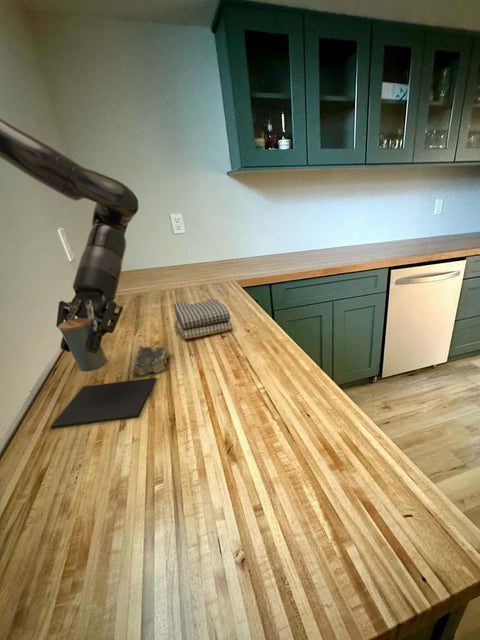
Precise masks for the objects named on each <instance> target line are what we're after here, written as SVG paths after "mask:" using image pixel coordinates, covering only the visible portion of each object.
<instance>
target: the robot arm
mask: <svg viewBox="0 0 480 640" xmlns="http://www.w3.org/2000/svg"><path fill="white" fill-rule="evenodd" d="M0 159H1V160H4V161H5V162H7V163H8V164H10V165H11V166H13V167H14V168H16V169H17V170H19V171H21V172H22V173H23V174H25V175H26V176H29V177H30V178H32V179H33V180H35V181H37V182H38V183H40V184H42V185H44V186H46V187H48V188H49V189H51V190H53V191H54V192H57V193H58V194H60V195H62V196H64V197H66V198H67V199H69V200H71V201H76V202H78V201H81V200H83V199H86V200H89V201H91V202H93V203H95V205H94V209H93V213H92V221H91V229H90V231H89V233H88V237H87V239H86V240H87V241H86V244H85V247H84V249H83V252H82V254H81V257H80V260H79V264H78V267H77V270H76V273H75V276H74V281H73V284H72V289H73V291H74V293H75V295H74V297H73V298H72V300H71V301H67V302H66V301H64V300H60V301H59V303H58V307H57V315H56V325H55V326H56V328H58V326H59V325H60V324H61V323H63V322H65V321H68V320H72V319H76V318H84V317H86V318H88V320H90V321H91V330H92V331H93V332H90V334H89V337H88V341H87V345H86V350H87V351H89V352H91V353H97V352H98V350H99V348H100V345H101V346H102V340H103V337H104V336H106V334H108V333H109V334H113V333H114V332H115V329H116V327H117V325H118V323H119V319H120V317H121V315H122V313H123V310H124V307H123V306H122V305H121V304H120V303H118V302H115V301H114V300H115V299H116V295H117V291H118V286H119V283H120V279H121V275H122V269H123V260H124V256H125V253H126V248H127V237H126V232H127V229H128V226H129V223H130V222H131V221H132V220H133V218H134V217H135V216H136V215H137V214H138V212H139V208H140V202H139V199H138V198H137V195H136V194H135V193H134V191H133V190H132V189H130V188H129V187H128V186H127V185H125V184H124V183H123V182H121V181H119V180H117V179H114V178H113V177H110V176H108V175H105V174H104V173H103V174H102V173H100V172H98V171H96V170H93V169H89V168H87V167H85V166H82V165H81V164H79V163H78V162H77V161H75V160H73V159H71V158H70V157H69V156H66V155H65V154H63V152H60V151H59V150H57V149H55V148H54V147H52V146H50V145H49V144H47V143H45V142H43V141H42V140H41V139H38V138H36V137H34V136H32V135H31V134H29V133H27V132H25V131H23V130H22V129H20V128H18V127H16V126H14V125H12V124H10V123H9V122H8V121H6V120H4V119H2V118H0ZM60 350H62V351H64V352H67V353H71V351H70V349H69V347H68V345H67V343H66V341H65V339H64V337H63V336H62V337H61V342H60Z"/></svg>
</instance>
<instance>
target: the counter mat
mask: <svg viewBox="0 0 480 640" xmlns="http://www.w3.org/2000/svg"><path fill="white" fill-rule="evenodd" d="M156 381H157V378H156V377H149V378H141V379H134V380H126V381H125V380H124V381H117V382H109V383H101V384H100V383H99V384H93V385H85V386H82V388H80V389H79V391H78V392H77V394H76V395H75V396H74V397H73V398H72V399H71V401H70V402H69V403H68V404H67V405H66V407H65V408H64V410H63V411H62V412H61V413H60V414H59V415H58V417H56V419H55V420H54V422H53V423H52V424H51V425H50V427H51V429H59V428H65V427H73V426H80V425H88V424H95V423H104V422H110V421H112V422H113V421H119V420H127V419H133V418H139V416H140V414H141V412H142V411H143V408H144V406H145V404H146V402H147V400H148V398H149V396H150V394H151V392H152V389H153V388H154V385H155V383H156Z"/></svg>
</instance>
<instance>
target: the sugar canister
mask: <svg viewBox="0 0 480 640" xmlns="http://www.w3.org/2000/svg"><path fill="white" fill-rule="evenodd" d="M57 328H58V331H60V332H61V335H62V337H64V339H65V341H66V343H67V345H68V347H69V349H70V351H71V352H70V353H71V355H72V357H73V360H74V362H75V364H76V366H77V368H78V370H79V371H80V372H92V371H96V370H99V369H101V368H103V367H104V366H107V364H108V359H107V356H106V354H105V350H104V349H103V347H102V344H101V345H100V348H99V350H98V352H97V353H91V352H89V351H87V350H86V345H87V341H88V337H89V334H90V332H93V331H92V330H91V321H90V320H88V318H86V317H84V318H77V317H75V319H72V320H68V321H65V320H64V322H63V323H61V324H60V325H59V326H58V327H57Z"/></svg>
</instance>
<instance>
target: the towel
mask: <svg viewBox="0 0 480 640" xmlns="http://www.w3.org/2000/svg"><path fill="white" fill-rule="evenodd" d="M173 308H174V313H175V317H174V320H175V322H174V323H175V325H176V327H177V328H178V330H179V333H180V334H181V336H182V337H183V339H184V340H188V339H190V340H191V339H195V338H199V337H205V336H208V335H213V334H219V333H223V332H227V331H230V330H232V323H231V321H230V320H231V315H230V313H229V310H228V308H227V307H226V305H224V303H221V302H220V301H219V300H218V299H217V298H215V299H210V300H209V299H208V300H204V301H199V302H194V303H186V302H181V301H174V303H173Z"/></svg>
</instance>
